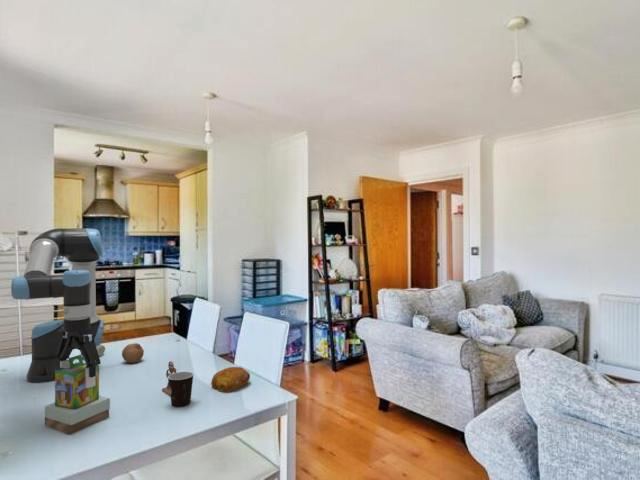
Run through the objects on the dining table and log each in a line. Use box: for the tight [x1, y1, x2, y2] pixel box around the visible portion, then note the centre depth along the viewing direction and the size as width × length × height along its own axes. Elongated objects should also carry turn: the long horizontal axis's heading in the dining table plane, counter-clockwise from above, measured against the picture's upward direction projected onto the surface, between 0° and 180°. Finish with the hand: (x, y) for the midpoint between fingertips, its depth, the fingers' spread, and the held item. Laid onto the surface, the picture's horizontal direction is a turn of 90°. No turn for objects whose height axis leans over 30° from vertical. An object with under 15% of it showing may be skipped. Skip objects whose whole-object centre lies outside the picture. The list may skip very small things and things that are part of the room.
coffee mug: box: [167, 371, 194, 408], centre depth 142 cm, size 12×9×10 cm
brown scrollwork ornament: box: [161, 360, 177, 397], centre depth 154 cm, size 9×4×12 cm, turn 43°
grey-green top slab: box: [44, 395, 111, 425], centre depth 130 cm, size 13×13×4 cm
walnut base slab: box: [44, 409, 110, 435], centre depth 130 cm, size 13×13×4 cm
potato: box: [210, 366, 251, 393], centre depth 161 cm, size 14×16×8 cm
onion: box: [121, 342, 145, 364], centre depth 192 cm, size 10×9×10 cm
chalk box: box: [54, 354, 100, 409], centre depth 130 cm, size 9×9×15 cm
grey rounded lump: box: [80, 343, 106, 358], centre depth 202 cm, size 11×8×10 cm
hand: (77, 383), depth 130 cm, fingers open, 13 cm apart
